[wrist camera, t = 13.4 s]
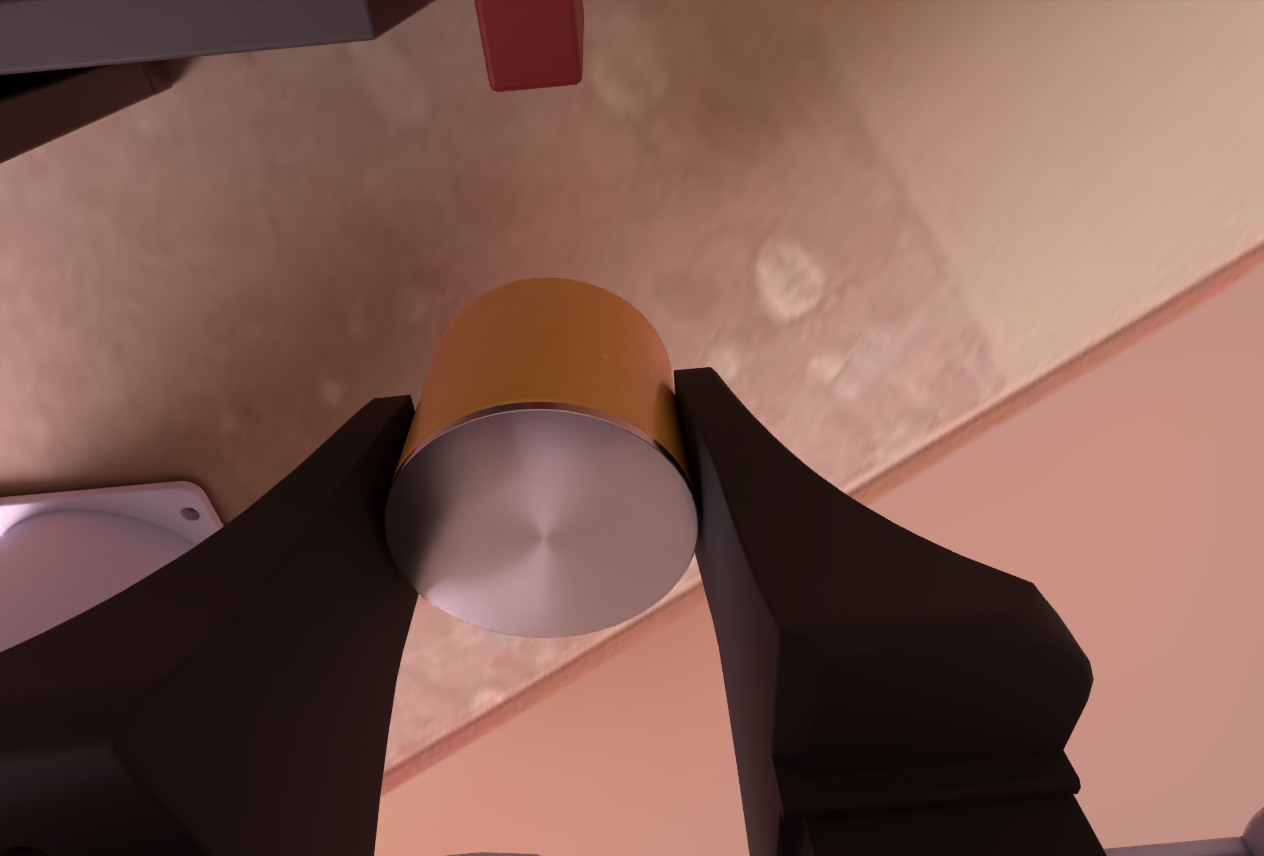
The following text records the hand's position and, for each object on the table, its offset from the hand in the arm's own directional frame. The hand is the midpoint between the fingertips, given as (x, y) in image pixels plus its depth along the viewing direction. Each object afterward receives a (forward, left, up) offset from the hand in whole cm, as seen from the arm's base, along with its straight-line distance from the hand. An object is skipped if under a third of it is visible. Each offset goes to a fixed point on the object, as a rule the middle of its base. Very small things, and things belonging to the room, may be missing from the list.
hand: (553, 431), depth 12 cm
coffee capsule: (0, 0, -1) cm, 1 cm away
